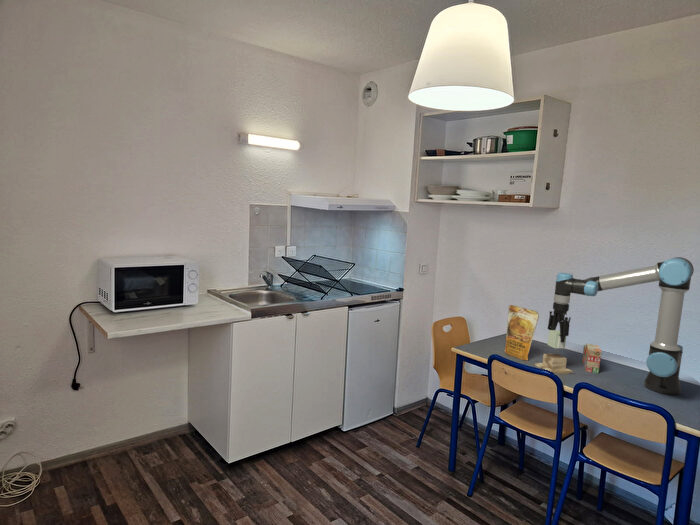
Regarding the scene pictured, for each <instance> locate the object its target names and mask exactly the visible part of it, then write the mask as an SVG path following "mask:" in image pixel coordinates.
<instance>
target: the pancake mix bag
mask: <svg viewBox="0 0 700 525" xmlns="http://www.w3.org/2000/svg"><path fill="white" fill-rule="evenodd" d="M507 309H508V310H507V312H508V313H507V322H506V337H505V338H506V340H505V341H506V342H505V345H504V346H505V347H504V353H505V354H506V355H507V356H511V357H513V358H515V359H519V360H521V361H528V360H529V352H530V350H531V349H530V348H531V347H532V346H531V345H532V342H533V338H534V336H535V333H536V332H535V331H536V328H537V325H538V322H539V318H540V313H538V311H537V310H533V309H530V308H526V307H522V306H517V305H513V304H510V305H508V308H507Z"/></svg>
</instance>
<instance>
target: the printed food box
mask: <svg viewBox="0 0 700 525" xmlns="http://www.w3.org/2000/svg"><path fill="white" fill-rule="evenodd" d="M582 351H583V352H582V364H583V366H584V371H585V372H586V371H587V372H586V373H592V372H593V373H592V374H599V372H600V364H601V358H602V352H603V351H602V349H601V347H600V346H599V344H592V343H585V344H583V349H582Z"/></svg>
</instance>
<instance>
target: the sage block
mask: <svg viewBox="0 0 700 525" xmlns="http://www.w3.org/2000/svg"><path fill="white" fill-rule="evenodd" d="M559 335H560V329H556V330H549V329H548V338H547V346H549V347H551V348H553V349H559V348H558V340H559ZM566 342H567V336H565V340H564V344H563V348H562V349H566Z"/></svg>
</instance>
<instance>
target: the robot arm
mask: <svg viewBox="0 0 700 525" xmlns="http://www.w3.org/2000/svg"><path fill="white" fill-rule="evenodd" d="M694 270H695V269H694V264H692V261H690V260H689V259H687V258H684V257H681V256H680V257H676V256H675V257H673V258H669V259H666V260H665V261H659V262H657V263H655V265H650V266H645V267H640V268H639V267H638V268H634V269H630V270H625V271H619V272H614V273H609V274H603V275H599V276H591V277H588V278H585V279H578V278H574V276H573V273H568V272H558V273H557V275H556V280H555V287H554V295H553V301H554V302H553V304H552V309H553V311H551V310H550V311H549V318H548V324H547V330H548V331H549V330H557V327H558V324H559V330H560V335H559V340H558V348H557V349H564V348H563V344H564V340H565V336H566V337H569V334H570V333H569V332H570V323H571V319H572V318H571V316H568V315H567V312H569V309H570V300H571V295H572V294H575V295H583V296H587V297H596V296H597V295H598V292H602V291H607V290H614V289H619V288H625V287H626V288H627V287H630V286H636V285H643V284H648V283H654V282H658V287H659V289H660V290H661V294H660V301H659V307H658V308H659V309H658V313H657V314H658V316H657V322H656V323H657V324H656V329H655V334H654V335H655V338H654V341H653V342H651V343H649V344H650V345H649V350H648V351H649V352H648V356H647V358H646V367H647V369H648V371H649V372H648V373H647V375H646V378H645V379H644V382H643V385H644V387H645V388H647V389H649V390H651V391H653V392H657V393H660V394H665V395H673V396H675V395H681V393H682V386H681V383H680V371H681V364H682V358H683V353H684V351H683V350H684V347H683V346H682V345H681V344H678V340H679V333H680V327H681V320H682V313H683V306H684V300H685V294H686V293H687V292H688V291H689V290H690V288H691V287H690V286H691V280H692V277H693V275H694V272H695V271H694Z"/></svg>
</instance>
